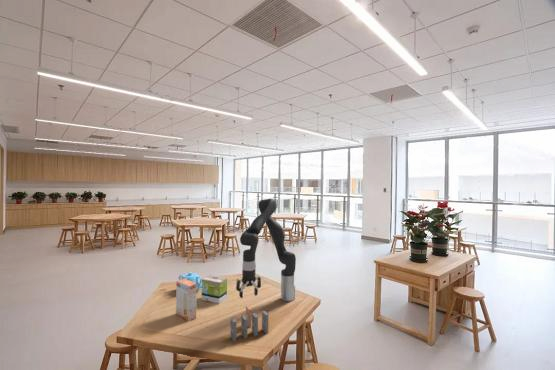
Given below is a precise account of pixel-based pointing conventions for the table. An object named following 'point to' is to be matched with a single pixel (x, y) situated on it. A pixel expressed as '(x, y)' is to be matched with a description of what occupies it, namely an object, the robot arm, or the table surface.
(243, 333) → the domino
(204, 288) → the tea box
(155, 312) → the table surface
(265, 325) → the domino
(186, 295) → the cracker box
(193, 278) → the decorative pot
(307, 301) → the table surface
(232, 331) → the domino
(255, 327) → the domino
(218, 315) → the table surface
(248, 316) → the domino
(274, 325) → the table surface
